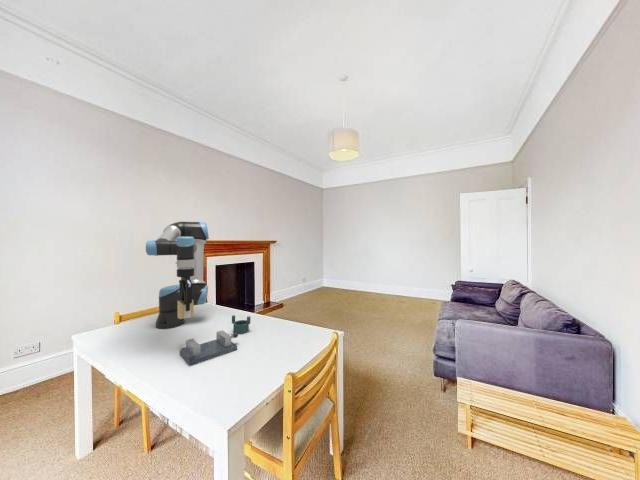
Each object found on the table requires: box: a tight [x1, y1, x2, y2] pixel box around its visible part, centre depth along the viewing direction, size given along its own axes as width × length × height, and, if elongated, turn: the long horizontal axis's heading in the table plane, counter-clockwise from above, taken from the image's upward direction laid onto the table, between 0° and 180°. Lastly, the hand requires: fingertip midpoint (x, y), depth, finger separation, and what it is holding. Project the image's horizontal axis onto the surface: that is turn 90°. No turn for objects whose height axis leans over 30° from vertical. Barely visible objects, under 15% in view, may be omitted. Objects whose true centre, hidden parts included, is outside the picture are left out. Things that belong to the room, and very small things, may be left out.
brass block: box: [178, 300, 195, 319], centre depth 120 cm, size 4×6×8 cm, turn 134°
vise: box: [179, 338, 238, 367], centre depth 116 cm, size 14×21×6 cm, turn 135°
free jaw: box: [215, 329, 239, 347], centre depth 122 cm, size 10×9×4 cm
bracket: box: [231, 314, 251, 335], centre depth 141 cm, size 9×9×9 cm
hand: (185, 316), depth 120 cm, fingers closed on brass block, 4 cm apart
